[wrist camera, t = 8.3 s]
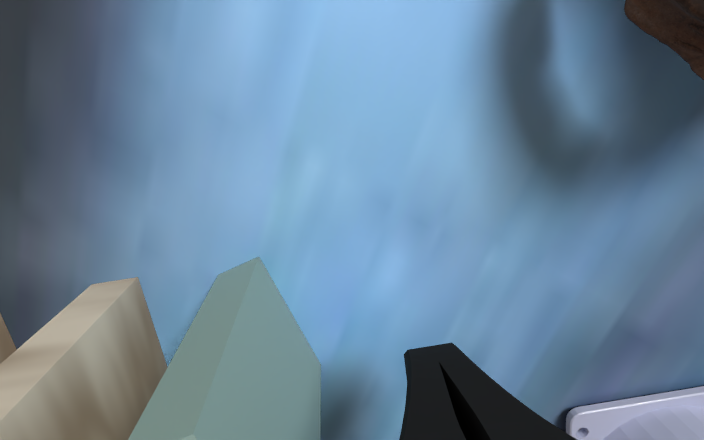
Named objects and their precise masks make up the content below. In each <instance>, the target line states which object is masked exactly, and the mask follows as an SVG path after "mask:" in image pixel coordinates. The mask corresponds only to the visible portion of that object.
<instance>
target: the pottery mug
mask: <svg viewBox="0 0 704 440" xmlns="http://www.w3.org/2000/svg"><path fill="white" fill-rule="evenodd" d="M624 10H625V14H626V16H627V17H628V19H630V20H631V21H632V22H633V23H634V24H635V25H637V26H638V27H639V28H640V29H641V30H643V31H644V32H646V33H647V34H649V35H652V36H653V37H654V38H656V39H658V40H659V41H660V42H662V43H664V44H666V45H668V46H669V47H670V48H671V49H673V50H674V51H675V52H676V53H677V54H678V55H680V56H681V57H682V58H683V59H684V60H685V61H686V62H688V64H689V65H690V67H691V69H692V71H693V72H694V73H696V74H697V75H698V76H699V77H701V78H702V79H703V80H704V0H626V1H625V7H624Z"/></svg>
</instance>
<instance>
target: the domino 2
mask: <svg viewBox="0 0 704 440" xmlns="http://www.w3.org/2000/svg"><path fill="white" fill-rule="evenodd" d="M320 438H321V364H320V362H319V360H318V359H317V357H316V355H315V353H314V352H313V350H312V348H311V346H310V345H309V343H308V341H307V339H306V338H305V336H304V334H303V332H302V331H301V329H300V327H299V325H298V324H297V322H296V320H295V318H294V317H293V315H292V313H291V311H290V310H289V308H288V306H287V304H286V303H285V301H284V299H283V297H282V296H281V294H280V292H279V290H278V289H277V287H276V285H275V283H274V282H273V280H272V278H271V276H270V275H269V273H268V271H267V269H266V268H265V266H264V264H263V262H262V261H261V259H260V257H256V258H254V259H252V260H250V261H248V262H245V263H243V264H241V265H239V266H237V267H234V268H232V269H230V270H228V271H226V272H223V273H221V274H219V275H218V276H217V278H216V280H215V282H214V284H213V286H212V287H211V289H210V291H209V293H208V295H207V297H206V298H205V300H204V302H203V304H202V306H201V307H200V309H199V311H198V313H197V315H196V317H195V318H194V320H193V322H192V324H191V326H190V328H189V329H188V331H187V333H186V335H185V337H184V338H183V340H182V342H181V344H180V346H179V348H178V349H177V351H176V353H175V355H174V357H173V359H172V360H171V362H170V364H169V366H168V368H167V369H166V371H165V373H164V375H163V377H162V379H161V380H160V382H159V384H158V386H157V388H156V390H155V391H154V393H153V395H152V397H151V399H150V400H149V402H148V404H147V406H146V408H145V410H144V411H143V413H142V415H141V417H140V419H139V421H138V422H137V424H136V426H135V428H134V430H133V431H132V433H131V435H130V437H129V439H128V440H320Z"/></svg>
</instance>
